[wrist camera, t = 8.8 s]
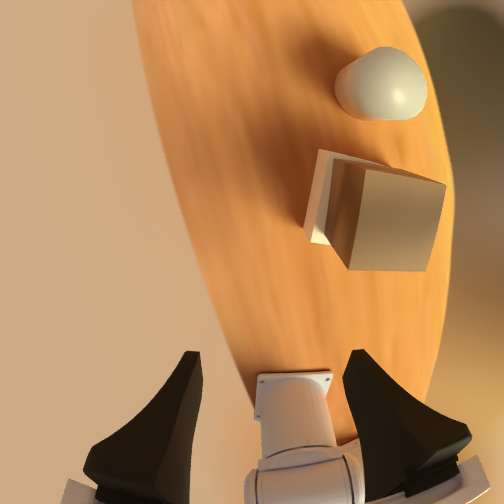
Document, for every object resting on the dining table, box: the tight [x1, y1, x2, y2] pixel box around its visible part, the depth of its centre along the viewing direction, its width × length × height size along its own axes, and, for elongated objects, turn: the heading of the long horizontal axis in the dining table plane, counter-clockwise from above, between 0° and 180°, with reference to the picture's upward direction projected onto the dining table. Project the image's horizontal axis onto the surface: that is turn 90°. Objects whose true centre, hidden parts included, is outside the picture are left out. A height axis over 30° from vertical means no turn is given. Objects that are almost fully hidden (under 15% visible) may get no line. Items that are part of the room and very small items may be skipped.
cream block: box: [303, 149, 389, 245], centre depth 18 cm, size 6×6×3 cm
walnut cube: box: [324, 158, 446, 272], centre depth 15 cm, size 5×5×5 cm
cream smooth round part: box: [334, 47, 427, 121], centre depth 14 cm, size 4×4×5 cm
